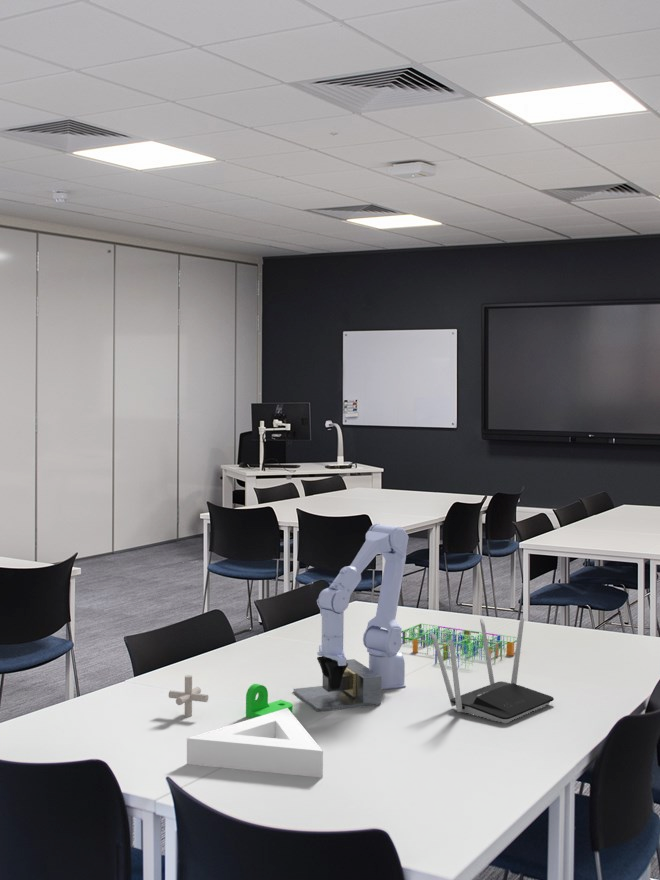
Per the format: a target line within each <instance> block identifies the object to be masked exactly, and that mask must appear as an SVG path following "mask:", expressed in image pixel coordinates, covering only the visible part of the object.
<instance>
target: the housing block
mask: <svg viewBox="0 0 660 880" xmlns="http://www.w3.org/2000/svg"><path fill="white" fill-rule="evenodd" d="M346 662H347V663H348V666H347V668H348V669H350V670H351V671H353V672H354V673H356V697H353V696H351V695H350V694H348V693H347V692H346V691H344V690H341V691H332V692H328V691H326V690H325V689H324V688H323V685H317V686H310V687H309V686H308V687H298V688H293V693H294V694H295V695H296V696H298V698H300V699H301V700H303V702H305V703H306V704H307V705H308V706H310V707H311V708H312V709H313V710H314V711H316V712H318V713H321V712H329V711H336V710H337V711H338V710H346V709H355V708H362V707H363V708H365V707H373V705H374V706H380V705H379V704H381V705H382V689H381V676H380V675H378V674H377V673H375V672H374V671H372V670H370V669H369V667H367V666H366V665H364V664H362V663H361V662H359V661H358V660H356V659H355V658H352V659H346ZM364 706H365V707H364Z"/></svg>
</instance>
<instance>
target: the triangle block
mask: <svg viewBox="0 0 660 880" xmlns="http://www.w3.org/2000/svg"><path fill="white" fill-rule="evenodd" d="M323 756H324V751H323V749H322V748H321V747H320V746H319V744H318V743H317V742H316V741H315V739H314V738H313V737H312V736H311V734H310V733H309V732H308V731H307V729H305V727H304V726H303V725H302V724H301V722H300V721H299V720H298V718H297V717H296V716H295V715H294V714H293V712H292V713H291V711H290V710H289V709H288V708H285V709H282V710H279V711H276V712H272V713H269V714H266V715H262V716H259V717H256V718H252V719H251V718H249V719H246V720H243V721H239V722H236V723H233V724H229V725H226V726H222V727H221V728H216V729H213V730H209V731H206V732H203V733H199V734H196V735H193V736H190V737H187V738H186V765H193V766H203V767H204V766H205V767H210V768H211V767H214V768H223V769H233V770H234V769H235V770H244V771H253V772H264V773H272V774H274V773H275V774H283V775H284V774H285V775H293V776H303V777H304V776H305V777H314V778H315V777H316V778H324V777H323V776H324V774H323V773H324V769H323V768H324V757H323Z"/></svg>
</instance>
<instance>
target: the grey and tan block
mask: <svg viewBox="0 0 660 880" xmlns="http://www.w3.org/2000/svg"><path fill="white" fill-rule="evenodd" d="M322 686H323V688H324V689H325V690H326V691H328V692H332V691H341V690H344V691H346V692H347V693H348V694H350V695H351V696H353V697H356V673H354V672H353V671H351V670H350V669H348V668H346V669H345V671H344V674H343V677H342V680H341V685H340V688H339V689H331V686H330V677H329V674H323V673H322Z"/></svg>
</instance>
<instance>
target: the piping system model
mask: <svg viewBox="0 0 660 880" xmlns="http://www.w3.org/2000/svg"><path fill="white" fill-rule="evenodd" d="M422 625H423V626H429V624H426V623H419V624H416V625H413V626H412V627H409V628H406V629H402V630H401V634H402V635H401V639H402V644H407V643H408V644H410V641H412V642H411V646H412V653H416V654H423V655H424V654H425V655H429V650H430V648H429V646H431V645H434V643H433V639H432V636H431V632H433V633H434V634H435V635H436V638H437V641H438V645H439V648H440V651H441V652H442V658H443V661H444V660H445V662H447V659H449V658H451V654H450V651H449V647H450V644H449V643H448V641H449V639H450V640H452V641H453V643H454V647H455V648H456V649H455V655H456V657H457V659H458V660H457V669H458V668H460V660H461V661H462V662H461V665H463V664H465V665H464V666H465V667H464V669H467V668H466V667H468V666H467V660H470V657H471V660H473V659H474V660H475V659H476V655H478V656H479V657H478V658H479V660H481V661H482V659H484V656H486V655H485V653H483V651H485V649H484V648H483V647H484V642H483V636H482V631H477V630H468V629H461V628H455V627H446V626H443V625H442V626H440V625H434V624H430V627H431V626H432V628H429V629H428V628H426V631H425V628H424V627H423V628H422ZM440 628H441V629H440ZM416 630H417V632H416ZM457 631H460V632H457ZM407 633H408V634H407ZM472 634H476V635H472ZM486 635H489V636H488V638H487V641H488V647H489V653H490V659H491V660H494V663H496V661H497V660H496V658H497V657H499V654H500V659H503V654H505V650H506V656H511V657H512V656H515V646H516V644H517V637H518V636H513V639H514V640H513V641H512V640H511V639H512V636H511V635H506V638H508V637H509V641H508V640H505V635H504V634H495V633H490V632H486ZM515 638H516V640H515ZM439 639H440V642H439ZM502 639H503V640H502ZM419 643H420V647H421V648H426V647H427V651H426V653H424V652H419ZM515 643H516V644H515ZM402 644H401V645H402ZM505 645H506V648H505ZM459 649H460V650H459ZM493 650H494V651H493ZM434 651H435V653H434V656H435V658H434V660H435V663H434V664H437V663H438V657H437V653H436V650H434ZM492 652H494V657H492ZM482 655H483V656H482ZM462 656H464V660H465V661H463V658H462ZM469 665H473V662H469Z"/></svg>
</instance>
